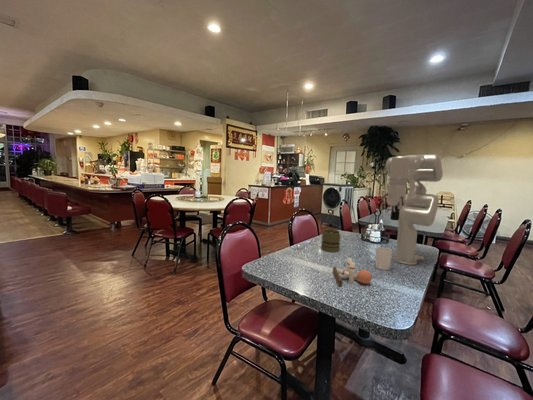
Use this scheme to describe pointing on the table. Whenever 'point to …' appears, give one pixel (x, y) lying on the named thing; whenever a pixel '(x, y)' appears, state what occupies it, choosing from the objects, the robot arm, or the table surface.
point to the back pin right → (348, 264)
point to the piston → (331, 241)
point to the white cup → (383, 258)
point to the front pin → (346, 273)
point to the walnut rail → (337, 277)
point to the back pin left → (351, 272)
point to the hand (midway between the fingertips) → (394, 219)
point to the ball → (364, 276)
